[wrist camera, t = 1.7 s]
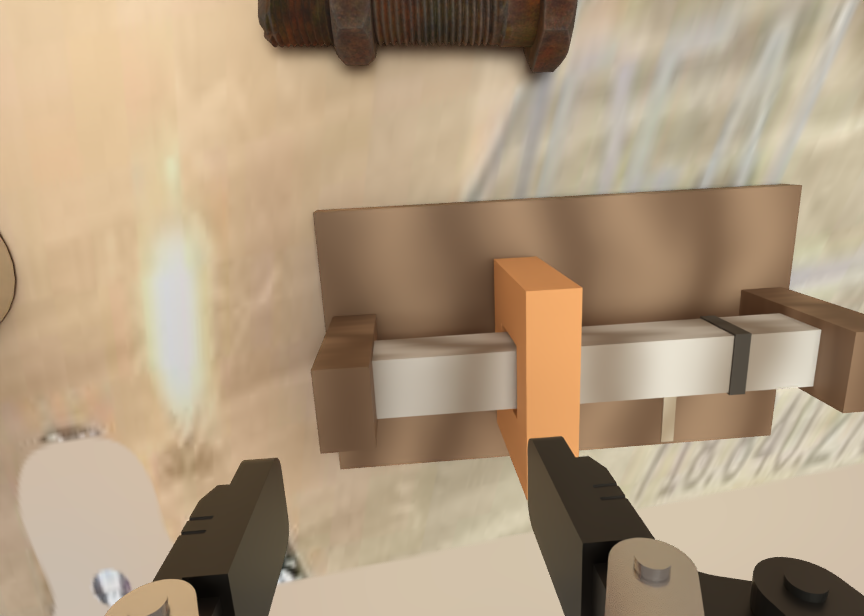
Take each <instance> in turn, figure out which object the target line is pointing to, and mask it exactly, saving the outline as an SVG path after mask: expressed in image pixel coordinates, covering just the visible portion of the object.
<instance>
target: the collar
mask: <svg viewBox="0 0 864 616" xmlns="http://www.w3.org/2000/svg"><path fill="white" fill-rule="evenodd" d="M582 292H583V288H582V287H581V286H579V285H578V284H576V283H575V282H573V281H572V280H570V279H569V278H567V277H566V276H564V275H563V274H562V273H560V272H559V271H557V270H556V269H554V268H553V267H551V266H550V265H548V264H547V263H545V262H544V261H542V260H541V259H539V258H538V257H536V256H535V257H519V258H502V259H494V297H495V333H496V332H508V334H509V335H510V337H511V338H512V340H513V341H514V343H515V344H516V346H517V409H503V410H497V424H498V426H499V429H500V431H501V434H502V436H503V439H504V442H505V444H506V447H507V449H508V452H509V455H510V457H511V460H512V462H513V465H514V467H515V470H516V473H517V475H518V478H519V480H520V483H521V486H522V488H523V491H524V493H525V496H526V499H527V500H528V462H527V447H528V440H529V439H530V438H542V437H555V436H562V437H563V438H564V439H565V441H566V443H567V444H568V446H569V448H570V449H571V451H572V452H573V454H574V456H575V457H579V419H580V376H581V334H582Z"/></svg>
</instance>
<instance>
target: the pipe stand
mask: <svg viewBox="0 0 864 616" xmlns="http://www.w3.org/2000/svg"><path fill="white" fill-rule="evenodd" d="M801 190H802V185H790V184H778V185H760V186H743V187H725V188H707V189H689V190H671V191H653V192H636V193H618V194H600V195H582V196H564V197H546V198H528V199H511V200H493V201H475V202H457V203H439V204H421V205H403V206H386V207H368V208H350V209H332V210H317V211H315V212H314V213H313V215H314V225H315V234H316V244H317V253H318V262H319V272H320V281H321V290H322V300H323V309H324V318H325V328H326V335H325V337H324V340H323V342H322V345H321V347H320V350H319V352H318V354H317V357H316V359H315V362H314V364H313V367H312V369H311V376H312V384H313V393H314V402H315V410H316V419H317V427H318V436H319V444H320V453H334V452H339V459H340V468H341V469H350V468H362V467H375V466H388V465H400V464H413V463H425V462H438V461H451V460H463V459H476V458H489V457H501V456H510V455H509V452H508V449H507V447H506V444H505V442H504V439H503V436H502V434H501V431H500V429H499V426H498V424H497V410H503V409H517V346H516V344H515V343H514V341H513V340H512V338H511V337H510V335H509V334H508V332H496V333H495V297H494V259H502V258H519V257H535V256H536V257H538V258H539V259H541V260H542V261H544V262H545V263H547V264H548V265H550V266H551V267H553V268H554V269H556V270H557V271H559V272H560V273H562V274H563V275H564V276H566V277H567V278H569V279H570V280H572V281H573V282H575V283H576V284H578V285H579V286H581V287H582V288H583V292H582V334H581V376H580V419H579V450H590V449H603V448H615V447H628V446H641V445H653V444H666V443H679V442H691V441H704V440H717V439H729V438H742V437H754V436H767V435H770V434H771V426H772V419H773V411H774V403H775V395H776V389H784V388H797V387H798V388H799V389H801V390H803V391H805V392H807V393H808V394H810V395H812V396H814V397H815V398H817V399H819V400H821V401H823V402H824V403H826V404H828V405H830V406H831V407H833V408H835V409H837V410H838V411H840V412H842V413H850V412H863V411H864V314H862V313H859V312H856V311H853V310H850V309H847V308H844V307H841V306H838V305H835V304H832V303H829V302H826V301H823V300H819V299H816V298H813V297H810V296H807V295H804V294H801V293H798V292H795V291H792V290H789V284H790V276H791V269H792V261H793V253H794V245H795V237H796V229H797V221H798V213H799V205H800V197H801Z"/></svg>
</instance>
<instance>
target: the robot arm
mask: <svg viewBox="0 0 864 616" xmlns="http://www.w3.org/2000/svg"><path fill="white" fill-rule="evenodd" d="M14 285H15V277H14V270H13V263H12V261H11V258H10V255H9V253H8V250H7V247H6V245H5V244H4V242H3V240H2V239H1V237H0V322H1V321H2V319H3V318H4V316H5V315H6V313H7V312H8V311H9V308H10V305H11V302H12V299H13V296H14ZM527 462H528V509H529V516H530V521H531V525H532V528H533V531H534V534H535V536H536V539H537V542H538V544H539V547H540V550H541V553H542V555H543V558H544V561H545V563H546V566H547V569H548V572H549V574H550V577H551V579H552V582H553V585H554V588H555V590H556V593H557V596H558V598H559V601H560V603H561V606H562V609H563V612H564V615H565V616H864V596H863V595H862V594H861V593H859V592H858V591H857V590H855V589H854V588H853V587H851V586H850V585H849V584H847V583H846V582H845V581H843V580H842V579H841V578H839V577H837V576H836V575H835V574H833V573H831V572H829V571H828V570H826V569H824V568H822V567H820V566H817V565H815V564H812V563H810V562H807V561H803V560H799V559H794V558H786V557H774V558H768V559H765V560H762V561H761V562H759V563H758V564H757V565H756V566H755V569H754V571H753V579H752V581H746V580H740V579H733V578H726V577H719V576H714V575H709V574H705V573H702V572H698V571H697V568H696V566H695V565H694V563H693V562H692V560H691V559H690V558H689V557H688V556H687V555H686V554H685V553H683V552H682V551H680V550H679V549H677V548H676V547H674V546H672V545H670V544H667V543H665V542H662V541H659V540H655V538H654V537H653V536H652V534H651V533H650V531H649V530H648V528H647V527H646V525H645V524H644V523H643V521H642V519H641V518H640V517H639V515H638V514H637V512H636V511H635V509H634V508H633V506H632V505H631V503H630V502H629V501H628V499H626V498H625V495H624V493H623V492H622V490H621V489H620V487H619V486H617V484H616V482H615V480H614V479H613V477H612V476H611V474H610V473H609V471H608V470H607V468H605V467H604V466H602V465H601V464H599V463H598V462H596V461H595V460H593V459H592V458H590V457H589V456H585V457H575V456H574V454H573V452H572V451H571V449H570V448H569V446H568V444H567V443H566V441H565V439H564V438H563V437H562V436H555V437H542V438H530V439H529V440H528V447H527ZM288 537H289V521H288V513H287V505H286V498H285V491H284V484H283V477H282V470H281V464H280V461H279V459H278V458H268V459H255V460H244V461H242V462H241V464H240V466H239V468H238V470H237V472H236V474H235V476H234V477H233V479H232V481H231V483H230V485H217V486H216V487H215V488H214V489H213V490H212V491H210V492H209V493H208V494H207V495H206V496H204V497H203V498H202V499H201V500H200V501H199V502H198V504H197V506H196V507H195V509H194V511H193V513H192V514H191V516H190V520H189V521H187V523H186V525H185V526H184V528H183V530H182V532H181V535H180V536H179V537H178V538H177V540H176V542H175V544H174V545H173V547H172V549H171V551H170V553H169V554H168V556H167V557H166V559H165V561H164V563H163V565H162V566H161V568H160V569H159V571H158V573H157V575H156V576H155V578H154V580H153V582H151V583H148V584H145V585H143V586H141V587H139V588H137V589H135V590H133V591H131V592H129V593H128V594H126V595H125V596H123V597H122V598H121V599H119V600H118V601H117V602H116V603H115V604H114V605H113V606H112V607H111V608H110V609H109V610H108V611H107V613H106V614H105V616H268V614H269V611H270V607H271V604H272V600H273V596H274V593H275V589H276V586H277V582H278V579H279V575H280V572H281V568H282V565H283V561H284V557H285V554H286V550H287V546H288Z"/></svg>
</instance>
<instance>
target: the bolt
mask: <svg viewBox="0 0 864 616" xmlns="http://www.w3.org/2000/svg"><path fill="white" fill-rule="evenodd" d="M576 8H577V0H258V18H259V23H260V25H261V27H262V28H263V30H264V37H265V38H266V39H267V40H268V41H269V42H270V43H271V44H272V45H273V46H274V47H277V46H278V45H279V46H280V47H284V45H286V46H287V47H289V46H290V45H291V44H292V45H293V46H294V47H295V46H297V44H298V45H299V46H301V47H302V46H303V45H304V44H305V45H306V46H307V47H309V46H310V44H312V45H313V46H314V47H315V46H316V45H317V44H319V46H321V47H322V46H323V44H324V43H325V45H326V46H327V47H328V46H329V45H330V44H332V45H333V46H335V49H336V53H337V55H338V57H339V58H340V59H341V60H342V61H343V62H344V63H345V64H346V65H368V64H369V63H370V62H372V61H373V60H374V59H375V57H376V51H377V43H378V44H379V45H380V46H381V45H382V44H383V42H384V43H385V45H386V46H388V44H389V43H390V42H391V44H392V45H393V46H394V45H395V44H396V42H397V43H398V44H399V46H401V44H402V43H403V42H404V44H405V45H406V46H407V45H408V44H409V43H411V44H412V45H413V46H414V45H415V43H416V42H417V43H418V44H419V46H421V44H422V43H423V42H424V43H425V45H426V46H427V45H428V43H429V42H430V43H431V44H432V46H434V44H435V42H437V44H438V45H439V46H440V45H441V43H442V42H443V43H444V44H445V46H447V44H448V42H450V44H451V45H452V46H453V45H454V43H455V41H456V43H457V44H458V46H460V44H461V42H463V44H464V45H465V46H467V43H468V41H469V43H470V44H471V46H473V45H474V42H476V44H477V45H478V46H479V45H480V44H481V42H482V43H483V45H487V43H488V42H489V44H490V45H498V46H499V47H524V53H525V56H526V58H527V61H528V64H529V66H530V69H531V71H532V72H553V71H554V70H555V69H556V68H557V67H558V66H559V65H560V64H561V63H562V61H563V60H564V59H565V57H566V55H567V53H568V50H569V46H570V41H571V37H572V33H573V28H574V22H575V15H576Z"/></svg>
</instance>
